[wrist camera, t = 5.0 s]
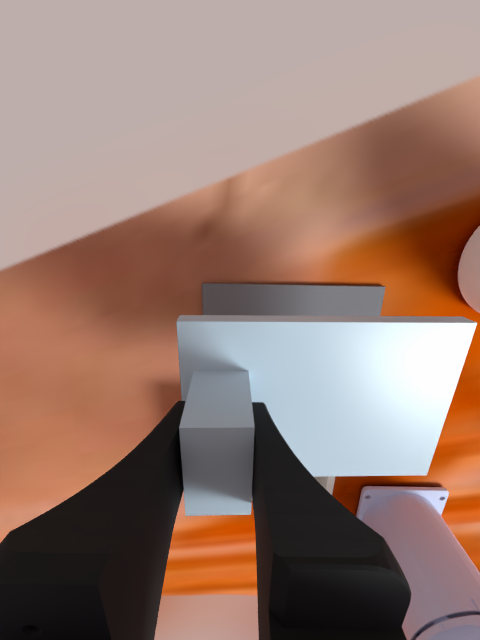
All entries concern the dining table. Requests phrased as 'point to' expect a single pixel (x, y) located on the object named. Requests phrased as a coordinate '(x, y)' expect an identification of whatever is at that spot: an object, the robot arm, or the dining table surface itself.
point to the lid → (312, 396)
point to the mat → (291, 299)
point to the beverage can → (470, 271)
